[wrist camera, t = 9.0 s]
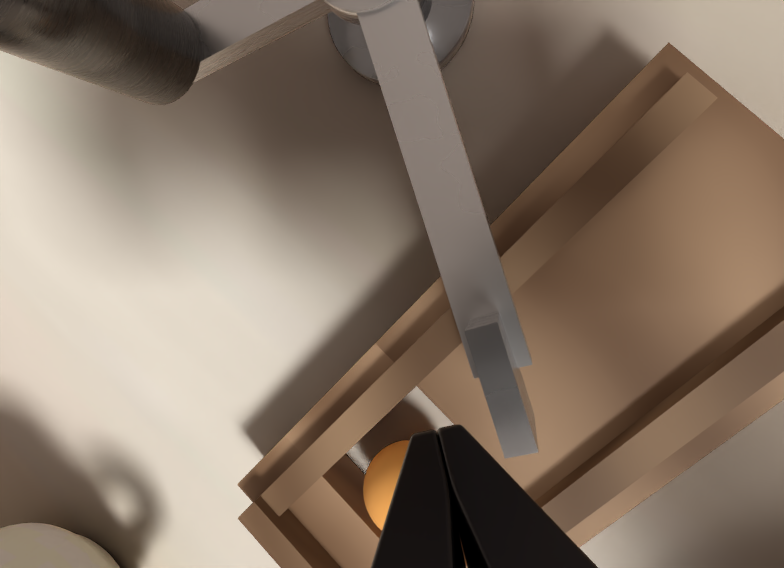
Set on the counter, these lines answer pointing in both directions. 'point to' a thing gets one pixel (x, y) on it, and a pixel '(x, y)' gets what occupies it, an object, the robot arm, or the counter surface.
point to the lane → (582, 326)
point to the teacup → (49, 548)
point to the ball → (383, 480)
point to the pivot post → (444, 23)
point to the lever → (405, 106)
